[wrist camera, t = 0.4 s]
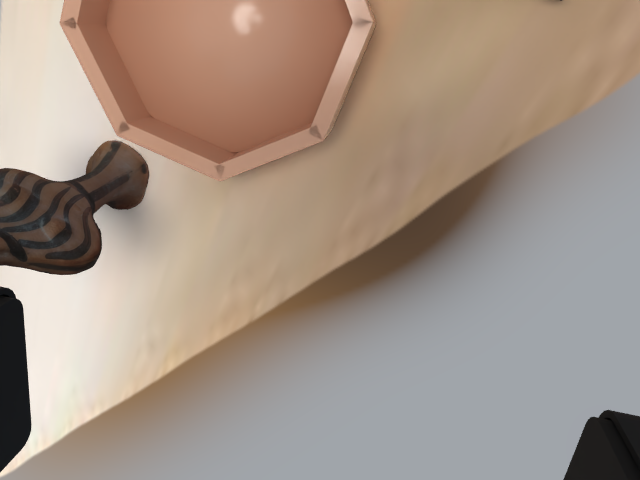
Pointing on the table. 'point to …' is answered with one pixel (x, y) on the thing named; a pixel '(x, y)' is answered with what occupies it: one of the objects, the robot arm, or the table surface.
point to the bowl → (220, 73)
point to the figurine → (66, 211)
